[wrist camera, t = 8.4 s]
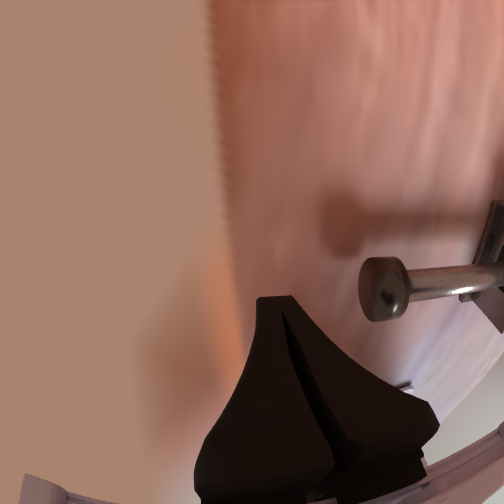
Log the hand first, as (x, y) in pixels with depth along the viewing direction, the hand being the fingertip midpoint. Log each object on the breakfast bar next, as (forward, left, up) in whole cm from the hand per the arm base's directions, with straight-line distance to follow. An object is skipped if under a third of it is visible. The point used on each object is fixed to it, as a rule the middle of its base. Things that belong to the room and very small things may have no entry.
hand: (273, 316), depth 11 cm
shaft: (0, -12, -3) cm, 12 cm away
